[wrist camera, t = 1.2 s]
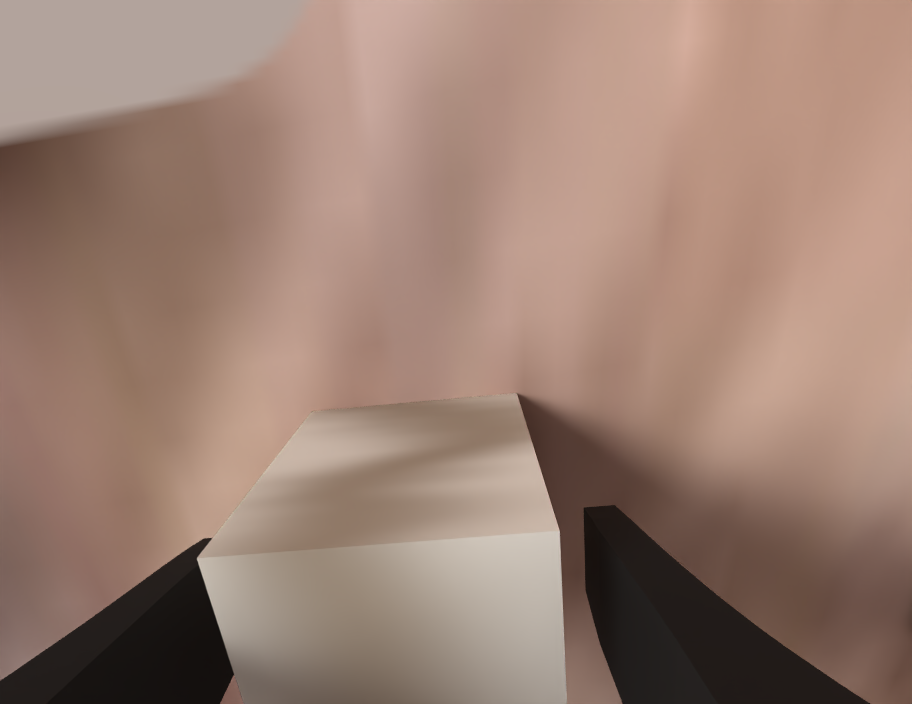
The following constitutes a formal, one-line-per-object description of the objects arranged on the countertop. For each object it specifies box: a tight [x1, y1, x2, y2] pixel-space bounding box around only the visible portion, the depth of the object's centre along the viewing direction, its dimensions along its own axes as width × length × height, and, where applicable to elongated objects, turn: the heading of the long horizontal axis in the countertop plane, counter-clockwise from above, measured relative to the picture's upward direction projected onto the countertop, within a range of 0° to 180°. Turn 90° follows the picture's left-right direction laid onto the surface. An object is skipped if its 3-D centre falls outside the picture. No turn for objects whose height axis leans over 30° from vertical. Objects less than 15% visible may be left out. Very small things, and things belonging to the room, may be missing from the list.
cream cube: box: [197, 393, 567, 704], centre depth 9 cm, size 5×5×5 cm
